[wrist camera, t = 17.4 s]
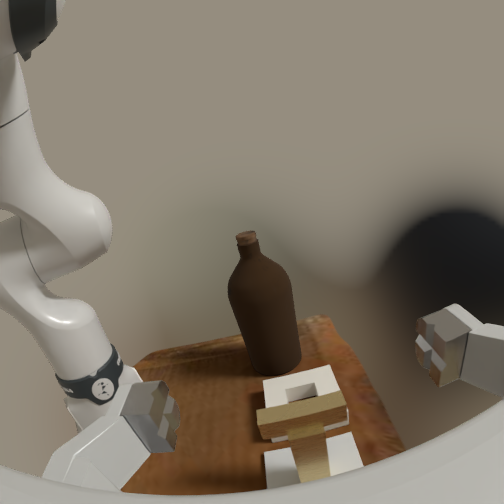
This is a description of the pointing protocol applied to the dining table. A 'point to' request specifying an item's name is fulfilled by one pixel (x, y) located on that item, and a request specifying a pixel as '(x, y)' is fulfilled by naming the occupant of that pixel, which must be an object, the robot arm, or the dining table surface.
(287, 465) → the white mat
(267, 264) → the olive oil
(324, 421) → the t key
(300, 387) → the socket block
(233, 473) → the dining table surface
